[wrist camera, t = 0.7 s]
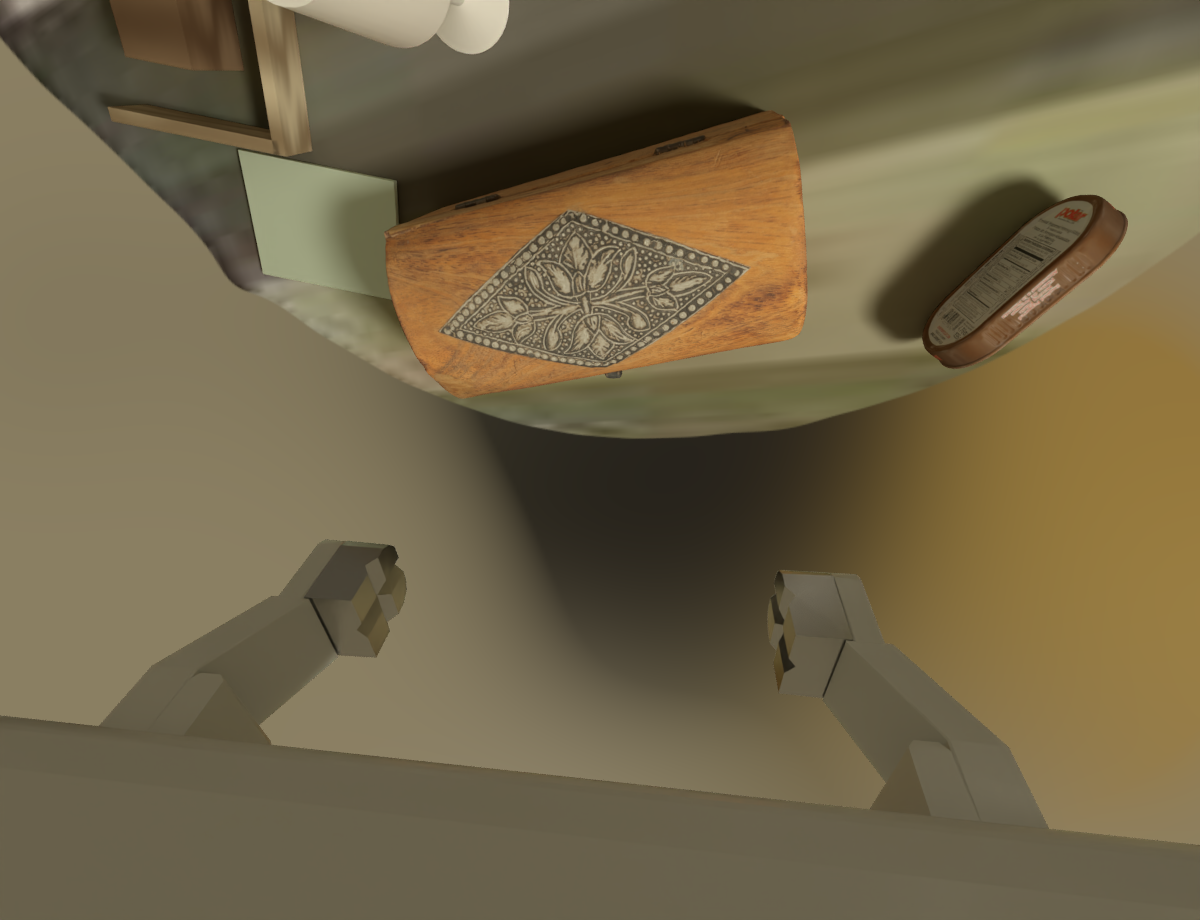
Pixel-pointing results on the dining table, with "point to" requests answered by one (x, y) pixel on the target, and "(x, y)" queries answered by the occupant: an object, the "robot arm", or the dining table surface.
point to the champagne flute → (413, 20)
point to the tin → (1024, 279)
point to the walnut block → (180, 33)
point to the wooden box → (609, 263)
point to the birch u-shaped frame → (279, 89)
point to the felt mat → (320, 222)
